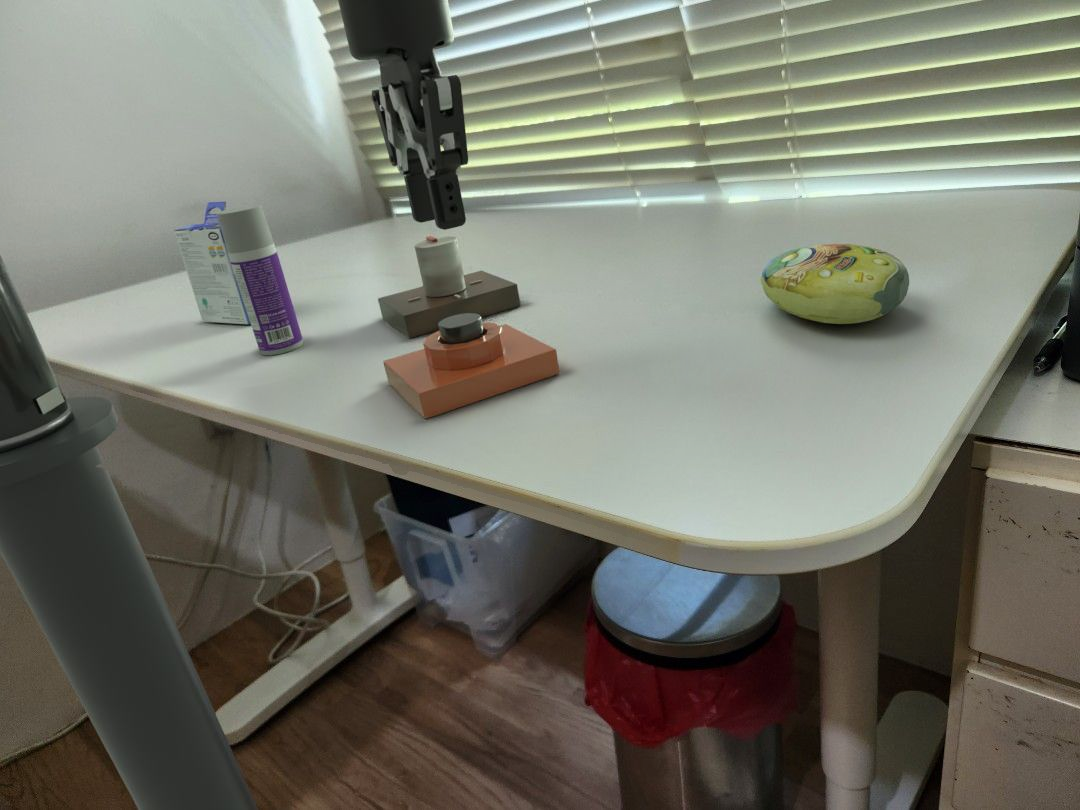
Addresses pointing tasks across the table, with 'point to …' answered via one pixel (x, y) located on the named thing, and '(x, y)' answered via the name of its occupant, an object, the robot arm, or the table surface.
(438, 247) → the dial
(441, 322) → the button
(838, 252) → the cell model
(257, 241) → the container
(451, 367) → the button housing
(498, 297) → the dial panel
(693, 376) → the table surface
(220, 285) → the ink cartridge box
